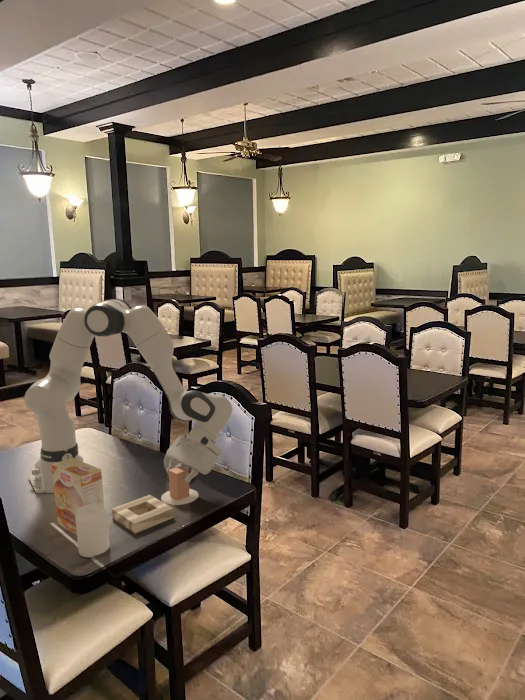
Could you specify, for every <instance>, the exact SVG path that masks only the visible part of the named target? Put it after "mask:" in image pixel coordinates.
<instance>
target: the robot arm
mask: <svg viewBox="0 0 525 700" xmlns="http://www.w3.org/2000/svg"><path fill="white" fill-rule="evenodd" d="M121 333H125V334H126V335H128V336H129V338H130V339H131V341H132V342H133V344H134V345H135V347H136V349H137V350H138V352H139V354H140V355H141V356H142V357H143V359H144V360H145V362H146V363H147V364H148V366H149V367H150V369H151V370H152V372H153V374H154V375H155V378H156V379H157V381H158V382H159V385H160V386H161V388H162V390H163V391H164V394H165V395H166V397H167V400H168V401H167V402H168V407H169V411H170V414H171V416H172V418H174V419H175V420H176V421H179V422H184V423H185V422H189V421H192V422H193V423H194V425H193V426H192V428H191V430H190V431H189V433H188V434H183V435H182V434H181V435H180V436H178V437H177V438H176V439H175V440H174V441H173V442H172V443H171V445H170V446H169V448H168V449H167V450H166V453H165V456H166V455H167V456H168V457H169V458H170V459H171V460H170V462H169V467H168V469H167V471H166V470H165V471H166V473H167V474H169V471H168V470H170V469H173V468H174V466H175V465H178V463H179V464H180V463H181V464H183V465H185V466H187V467H189V468H188V469H190V473H189V472H188V475H185V477H184V478H183V480H184V481H185V482H187V483H189V484H190V483H191V481H192V479H194V478H195V477H197V476H198V474H199V473H201V474H203V475H208V474H209V473H211V470H213V468H214V466H215V464H216V462H217V460H218V456H220V455H221V454H222V452H223V451H222V449H221V448H220V447H219V446H218V444H217V443H216V441H217V440H218V436H219V435H220V433H221V432H222V431H223V430H224V428H225V427H226V425H227V423H228V422H229V420H230V417H231V415H232V413H233V405H232V403H231V402H230V401H229V400H228V399H227V398H226V397H225V396H223V395H221V394H219V393H218V394H209V393H205V392H202V391H200V390H195V389H194V390H189V391H188V390H187V389H186V388H185V387H184V386H183V384H182V382H181V381H180V378H179V377H178V375H177V373H176V371H175V369H174V366H173V356H174V350H175V346H174V343H173V341H172V338H171V336H170V334H169V333H168V331H167V329H166V327H165V326H164V324H163V323H162V321H160V319H159V318H158V316H157V315H156V314H155V313H154V311H152V309H151V308H150V307H148V306H146V305H137V306H134V307H132V306H131V305H130V303H128V302H127V301H125V300H122V299H120V298H119V299H118V298H113V299H105V300H103V301H101V302H98V303H94V304H92V305H91V306H90V307H88V309H87V308H84V307H75V308H72V309H70V310H69V312H67V315H66V316H65V318H64V320H63V321H62V323H61V325H60V327H59V329H58V331H57V334H56V337H55V339H54V342H53V345H52V347H51V349H50V352H49V355H48V356H49V360H50V366H49V371H48V373H47V375H46V376H45V377H44V378H41V379H40V380H36V381H35V382H34V383H33V384H31V385H30V387H29V388H28V389H27V390H26V391H25V394H24V404H25V406H26V407H27V409H28V410H29V411H30V412H32V414H34V417H35V419H36V421H37V424H38V426H39V434H40V441H41V446H40V456H39V457H40V458H39V459H38V460H37V461H36V462H35V463H34V468H32V469H31V475H29V476H28V480H29V479H30V481H29V483H30V482H31V483H30V485H31V484H32V485H31V487H32V486H33V487H32V489H33V488H34V489H33V491H34V490H35V491H34V493H35V492H36V493H35V494H46V493H47V494H55V492H54V482H53V471H52V464H54V463H57V462H61V461H64V460H67V459H70V458H75V459H77V460H79V461H82V462H84V460H83V459H84V458H83V456H82V455H80V454H79V446H78V442H77V437H76V426H75V422H74V420H73V419H72V418H71V417H70V415H69V413H68V410H67V403H69V402H70V401H72V400H73V399H75V397H76V396H77V395H78V393H79V392H80V390H81V387H82V382H81V376H82V371H83V366H84V364H85V360H86V358H87V356H88V353H89V351H90V348H91V345H92V343H93V340H94V338H95V336H96V337H102V338H104V337H110V336H113V335H118V334H121ZM44 492H46V493H44Z"/></svg>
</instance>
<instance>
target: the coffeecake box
mask: <svg viewBox="0 0 525 700" xmlns="http://www.w3.org/2000/svg"><path fill="white" fill-rule="evenodd" d="M52 471H53V482H54V492H55V493H54V499H55V500H54V501H55V502H54V503H55V511H56V520H57V527H58V528H59V527H62V528H64V529H65V530H67V531H69V532H71V533H73V534H74V535H76V536H77V530H76V519H75V516H76V514H77V510H78V509H79V508H80V507H82V506H84V505H88V504H94V503H98V504H102V505H104V506H105V500H104V488H103V487H104V486H103V474H102V469H101V468H99V467H96V466H94V465H91V464H88V463H86V462H84V461H83V462H82V461H79V460H77V459H75V458H70V459H67V460H64V461H61V462H57V463H54V464H52Z"/></svg>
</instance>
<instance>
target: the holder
mask: <svg viewBox="0 0 525 700" xmlns="http://www.w3.org/2000/svg"><path fill="white" fill-rule="evenodd" d="M111 515H112V516H111V517H112V519H113V520H115V521H116V522H118V523H119V524H120V525H122V526H123V527H125V528H126V529H127V530H129V531H130V532H132V533H133V534H138V533H140V532H143V531H145V530H147V529H151V528H153V527H155V526H158V525H159V524H162V523H164V522H167V521H168V520H171V519H174V518H175V514H174V507H172V505H170V504H166V503H164V502H163V501H162V500H160V499H158V498H157V497H155V496H153V495H151V494H147V495H145V496H142V497H140V498H137V499H135V500H132V501H129V502H127V503H124V504H121V505H118V506H115V507H113V508H111Z"/></svg>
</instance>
